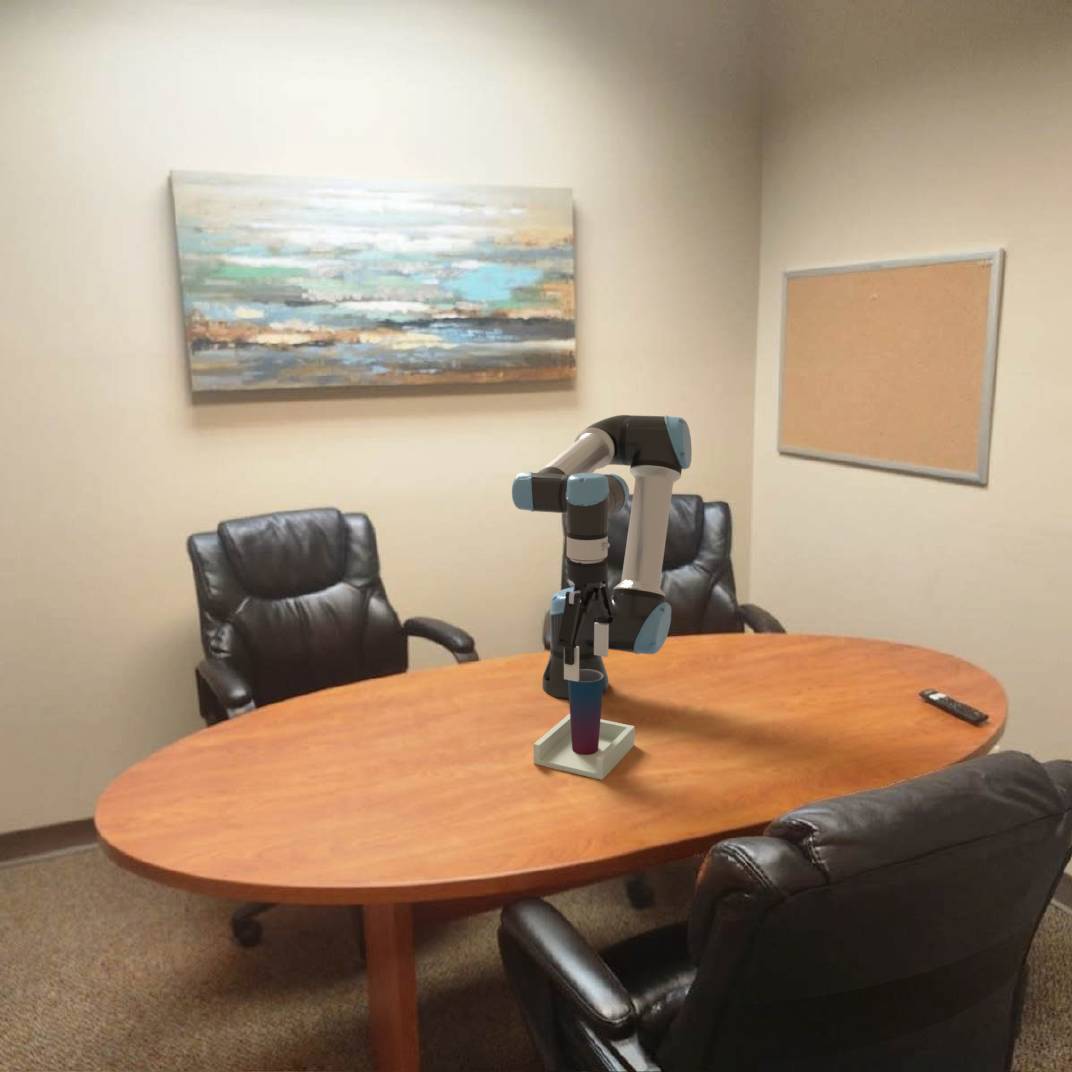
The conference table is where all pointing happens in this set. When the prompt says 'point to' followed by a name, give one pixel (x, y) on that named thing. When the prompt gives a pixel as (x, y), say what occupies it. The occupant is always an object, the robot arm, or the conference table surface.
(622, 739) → the open sided tray
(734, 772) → the conference table surface
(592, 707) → the cup
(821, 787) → the conference table surface
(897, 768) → the conference table surface
